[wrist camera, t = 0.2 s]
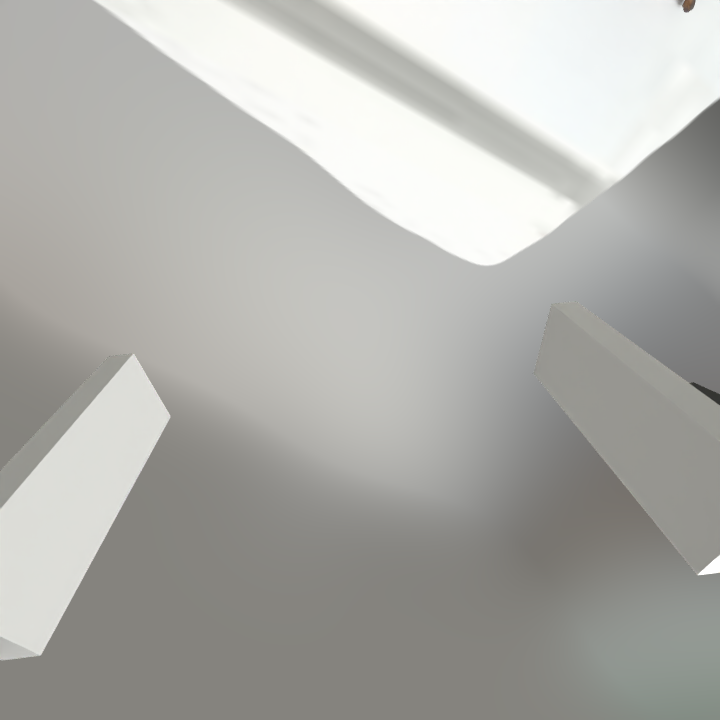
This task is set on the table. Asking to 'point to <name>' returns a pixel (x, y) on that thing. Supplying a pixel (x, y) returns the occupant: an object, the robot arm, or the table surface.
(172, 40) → the table surface
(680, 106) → the table surface
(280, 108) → the table surface
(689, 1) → the lion figurine
